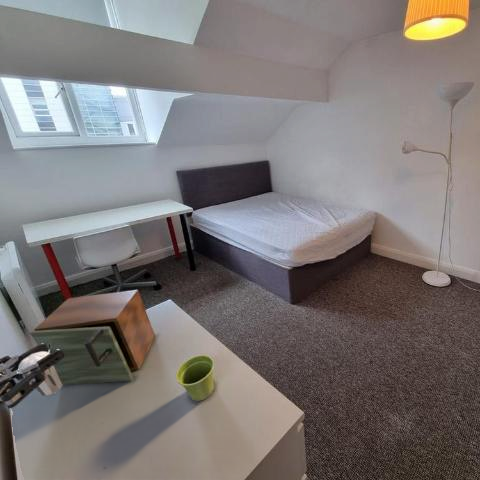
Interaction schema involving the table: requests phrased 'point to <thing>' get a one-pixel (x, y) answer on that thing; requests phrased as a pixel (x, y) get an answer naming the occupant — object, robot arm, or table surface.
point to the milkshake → (51, 374)
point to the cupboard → (108, 321)
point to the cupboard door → (86, 355)
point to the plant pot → (197, 376)
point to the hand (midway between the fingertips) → (53, 349)
